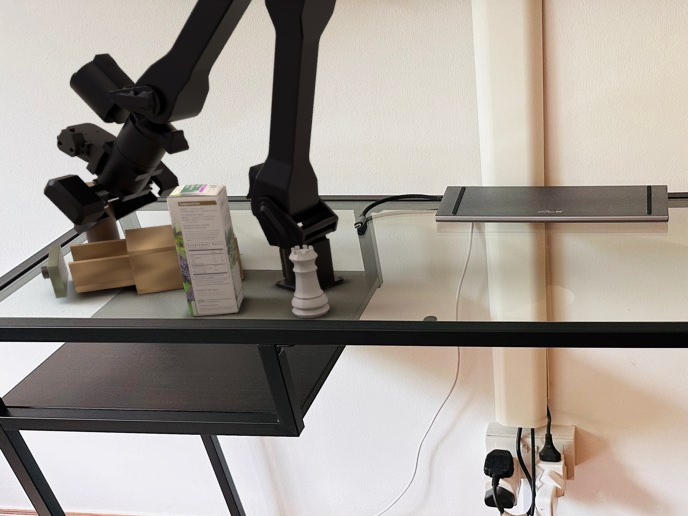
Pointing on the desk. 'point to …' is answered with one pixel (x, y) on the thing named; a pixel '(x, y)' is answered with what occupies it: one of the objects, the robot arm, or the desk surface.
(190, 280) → the syrup box
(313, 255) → the rook chess piece
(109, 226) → the pepper mill
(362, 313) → the desk surface
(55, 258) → the drawer
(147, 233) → the drawer unit
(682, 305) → the desk surface
